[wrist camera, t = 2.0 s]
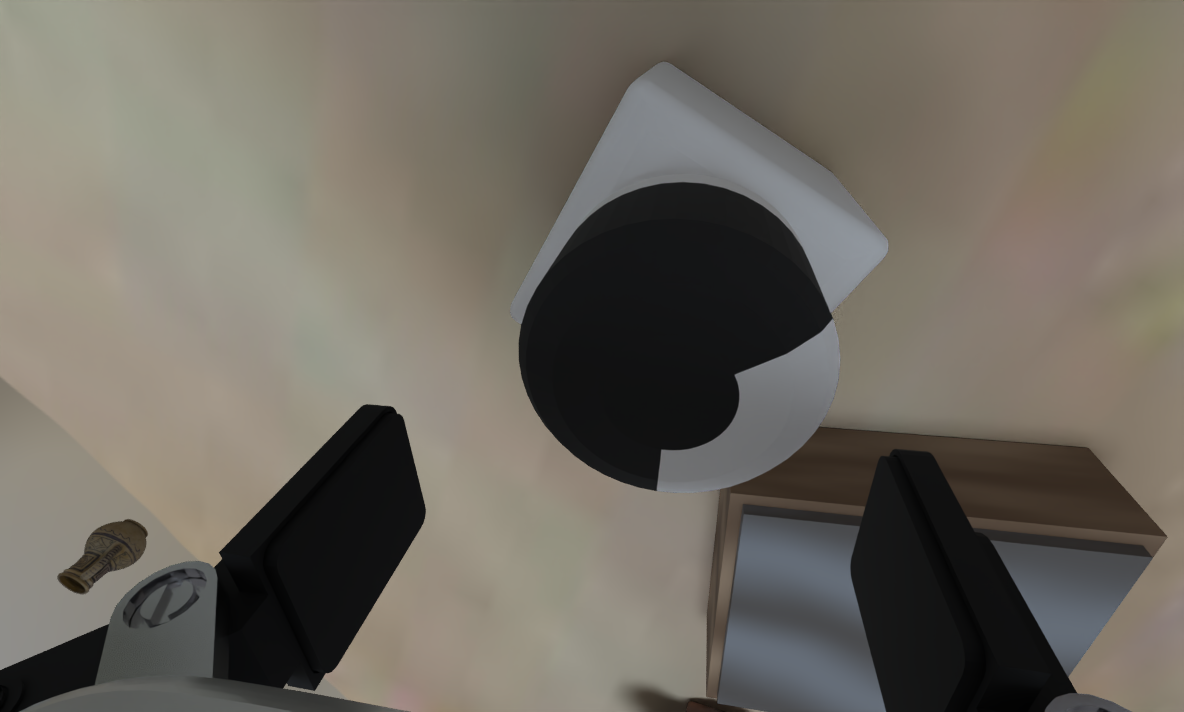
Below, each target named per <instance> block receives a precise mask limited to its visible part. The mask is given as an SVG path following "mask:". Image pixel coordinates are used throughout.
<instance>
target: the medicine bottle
mask: <svg viewBox="0 0 1184 712" xmlns="http://www.w3.org/2000/svg"><path fill="white" fill-rule="evenodd" d="M887 252H888V240H887V239H886V237H885V236H884V235H883V234H882V232H881V231H880V230H879V229H878V227H877V226H876V225H875V224H874V223H873V221H872V220H871V219H870V218H869V216H868V215H867V214H866V213H865V212H864V210H863V209H862V208H861V207H860V206H859V204H858V203H857V202H856V201H855V199H854V198H853V197H852V196H851V195H850V193H849V192H848V191H847V190H846V188H845V187H844V186H843V185H842V184H841V182H840V181H839V180H838V179H837V177H836V176H835V175H834V174H833V173H832V172H831V171H829V170H828V169H827V168H825V167H824V166H822V165H821V164H819V163H818V162H816V161H815V160H813V159H812V158H810V157H809V156H807V155H806V154H804V153H803V152H801V151H800V150H798V149H797V148H795V147H794V146H792V145H791V144H789V143H788V142H786V141H785V140H783V139H782V138H780V137H779V136H777V135H776V134H774V133H773V132H772V131H770V130H769V129H767V128H766V127H764V126H763V125H761V124H760V123H758V122H757V121H755V120H754V119H752V118H751V117H749V116H748V115H746V114H745V113H743V112H742V111H740V110H739V109H737V108H736V107H734V106H733V105H731V104H730V103H728V102H727V101H725V100H724V99H722V98H721V97H720V96H718V95H717V94H715V93H714V92H712V91H711V90H709V89H708V88H706V87H705V86H703V85H702V84H700V83H699V82H697V81H696V80H694V79H693V78H691V77H690V76H688V75H687V74H685V73H684V72H682V71H681V70H679V69H678V68H676V67H675V66H673V65H672V64H670V63H668V62H661V63H658V64H656V65H655V66H654V67H652V68H651V69H650V70H648V71H647V72H645V73H644V74H643V75H641V76H640V77H639V78H637V79H636V80H635V81H634V82H633V83H632V84H631V85H630V86H629V87H628V89H627V91H626V93H625V94H624V96H623V98H622V100H621V102H620V104H619V105H618V107H617V109H616V111H615V113H614V115H613V117H612V118H611V120H610V122H609V124H608V126H607V128H606V130H605V131H604V133H603V135H602V137H601V139H600V141H599V142H598V144H597V146H596V148H595V150H594V152H593V154H592V155H591V157H590V159H589V161H588V163H587V165H586V166H585V168H584V170H583V172H582V174H581V176H580V178H579V179H578V181H577V183H576V185H575V187H574V189H573V191H572V192H571V194H570V196H569V198H568V200H567V202H566V203H565V205H564V207H563V209H562V211H561V213H560V215H559V216H558V218H557V220H556V222H555V224H554V226H553V228H552V229H551V231H550V233H549V235H548V237H547V239H546V240H545V242H544V244H543V246H542V248H541V250H540V252H539V253H538V255H537V257H536V259H535V261H534V263H533V265H532V266H531V268H530V270H529V272H528V274H527V276H526V277H525V279H524V281H523V283H522V285H521V287H520V289H519V290H518V292H517V294H516V296H515V298H514V300H513V301H512V303H511V308H510V313H511V316H512V318H513V319H514V320H515V321H516V322H518V323H520V324H521V330H520V337H519V364H520V369H521V375H522V380H523V383H524V386H525V389H526V392H527V395H528V397H529V399H530V401H531V403H532V405H533V407H534V409H535V411H536V413H537V414H538V416H539V417H540V419H541V420H542V422H543V423H544V425H545V426H546V427H547V428H548V429H549V431H550V432H551V433H552V434H553V435H554V436H555V438H556V439H557V440H558V441H559V442H560V443H561V444H562V445H563V446H564V447H566V448H567V449H568V450H569V451H570V452H571V453H572V454H573V455H574V456H576V457H577V458H579V459H580V460H581V461H583V462H584V463H586V464H587V465H588V466H590V467H592V468H593V469H595V470H597V471H599V472H601V473H602V474H604V475H606V476H609V477H611V478H613V479H616V480H618V481H620V482H623V483H626V484H630V485H633V486H636V487H640V488H645V489H649V490H654V491H662V492H672V493H696V492H705V491H713V490H718V489H722V488H727V487H731V486H734V485H737V484H740V483H743V482H746V481H749V480H751V479H753V478H755V477H757V476H759V475H761V474H763V473H765V472H767V471H769V470H771V469H772V468H774V467H775V466H777V465H779V464H780V463H782V462H783V461H785V460H787V459H788V458H789V457H790V456H791V455H793V454H794V453H795V452H796V451H797V450H799V449H800V448H801V447H802V446H803V445H804V444H805V443H806V442H807V441H808V439H809V438H810V437H811V436H812V435H813V434H814V433H815V431H816V430H817V428H818V427H819V425H820V424H821V422H822V421H823V419H824V418H825V416H826V414H827V412H828V410H829V408H830V405H831V403H832V401H833V399H834V395H835V391H836V388H837V384H838V380H839V370H840V350H839V339H838V335H837V332H836V328H835V324H834V321H833V317H832V315H831V313H832V312H833V310H834V309H835V308H836V307H837V306H838V305H839V304H840V303H841V302H842V301H843V300H844V299H845V298H846V297H847V296H848V295H849V294H850V293H851V292H852V291H853V290H854V289H855V288H856V287H857V286H858V284H859V283H860V282H861V281H862V280H863V279H864V278H865V277H866V276H867V275H868V274H869V273H870V272H871V271H872V270H873V269H874V268H875V267H876V266H877V265H878V264H879V263H880V262H881V261H882V259H883V258H884V257H885V256H886V254H887Z"/></svg>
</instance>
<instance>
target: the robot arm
mask: <svg viewBox="0 0 1184 712" xmlns="http://www.w3.org/2000/svg"><path fill="white" fill-rule="evenodd" d="M425 514H426V509H425V504H424V500H423V496H422V492H421V488H420V483H419V479H418V475H417V471H416V467H415V463H414V459H413V455H412V451H411V447H410V443H409V439H408V435H407V431H406V427H405V423H404V419H403V417H402V416H401V415H400V414H397V412H396V410H395V409H394V408H393V407H391V406H380V405H368V404H367V405H363V406H362V407H361V408H359V409H358V410H357V412H356V413H355V414H354V415H353V416H352V417H351V418H350V419H349V420H348V421H347V422H346V423H345V424H344V425H343V426H342V427H341V428H340V429H339V430H338V431H337V432H336V433H335V434H334V435H333V436H332V437H331V438H330V439H329V440H328V441H327V442H326V443H325V444H324V445H323V446H322V447H321V448H320V449H319V450H318V452H317V453H316V454H315V455H314V456H313V457H312V458H311V459H310V460H309V461H308V462H307V463H306V464H305V465H304V466H303V467H302V468H301V469H300V470H299V471H298V472H297V473H296V474H295V475H294V476H293V477H292V478H291V479H290V480H289V481H288V482H287V483H286V484H285V485H284V486H283V487H282V488H281V489H280V490H279V492H278V493H277V494H276V495H275V496H274V497H273V498H272V499H271V500H270V501H269V502H268V503H267V504H266V505H265V506H264V507H263V508H262V509H261V510H260V511H259V512H258V513H257V514H256V515H255V516H254V517H253V518H252V519H251V520H250V521H249V522H248V523H247V524H246V525H245V526H244V527H243V528H242V529H241V530H240V532H239V533H238V534H237V535H236V536H235V537H234V538H233V539H232V540H231V541H230V542H229V543H228V544H227V545H226V546H225V547H224V548H223V549H222V550H221V551H220V552H219V553H220V555H221V557H222V560H221V561H220V562H219V563H218V564H217V565H216V566H215V567H212V566H211V565H210V564H209V563H205V562H201V561H189V562H183V563H179V564H175V565H171V566H169V567H166V568H164V569H162V570H160V571H157V572H155V573H153V574H152V575H150V576H149V577H147V578H146V579H144V580H142V581H141V582H139V583H138V584H137V585H136V586H134V587H133V588H132V589H131V590H130V591H129V592H127V593H126V594H125V596H124V597H123V598H122V599H121V600H120V602H119V603H118V604H117V605H116V607H115V609H114V612H113V614H112V616H111V619H110V623H109V624H108V625H105V626H103V627H101V628H98V629H96V630H94V631H91V632H89V633H87V634H84V635H82V636H79V637H77V638H75V639H72V640H70V641H68V642H65V643H63V644H61V645H58V646H56V647H54V648H51V649H49V650H47V651H44V652H42V653H40V654H37V655H35V656H33V657H30V658H28V659H25V660H23V661H21V662H18V663H16V664H14V665H12V666H9V667H7V668H4V669H2V670H0V712H409V711H404V710H398V709H393V708H387V707H382V706H377V705H371V704H366V703H361V702H355V701H350V700H344V699H339V698H334V697H328V696H323V695H318V694H312V693H307V692H301V691H295V690H288V689H283V688H284V686H285V684H286V683H287V684H288V686H292V687H297V688H303V689H308V690H313V691H315V690H316V688H317V686H318V685H319V683H320V682H321V680H322V678H323V677H324V675H325V673H330V672H332V671H333V670H334V669H335V668H336V666H337V665H338V664H339V662H340V660H341V659H342V657H343V655H344V654H345V652H346V650H347V649H348V647H349V645H350V644H351V642H352V641H353V639H354V637H355V636H356V634H357V632H358V631H359V629H360V627H361V626H362V624H363V622H364V621H365V619H366V617H367V616H368V614H369V612H370V611H371V609H372V608H373V606H374V604H375V603H376V601H377V599H378V598H379V596H380V594H381V593H382V591H383V589H384V588H385V586H386V584H387V583H388V581H389V579H390V578H391V576H392V574H393V573H394V571H395V570H396V568H397V566H398V565H399V563H400V561H401V560H402V558H403V556H404V555H405V553H406V551H407V550H408V548H409V546H410V545H411V543H412V541H413V540H414V538H415V537H416V535H417V533H418V532H419V530H420V528H421V527H422V525H423V522H424V519H425ZM850 572H851V579H852V583H853V587H854V591H855V595H856V599H857V602H858V606H859V610H860V614H861V618H862V621H863V625H864V629H865V633H866V637H867V641H868V644H869V648H870V652H871V656H872V660H873V664H874V667H875V671H876V675H877V679H878V683H879V687H880V690H881V694H882V698H883V702H884V706H885V710H886V712H1131V711H1129V710H1127V709H1125V708H1123V707H1121V706H1120V705H1118V704H1116V703H1114V702H1112V701H1109V700H1105V699H1102V698H1099V697H1096V696H1093V695H1089V694H1077V692H1076V690H1075V689H1074V687H1073V685H1072V683H1071V681H1070V680H1069V678H1068V676H1067V674H1066V673H1065V671H1064V669H1063V667H1062V665H1061V664H1060V662H1059V660H1058V658H1057V657H1056V655H1055V653H1054V651H1053V650H1052V648H1051V646H1050V644H1049V642H1048V641H1047V639H1046V637H1045V635H1044V634H1043V632H1042V630H1041V628H1040V626H1039V625H1038V623H1037V621H1036V619H1035V618H1034V616H1033V614H1032V612H1031V611H1030V609H1029V607H1028V605H1027V603H1026V602H1025V600H1024V598H1023V596H1022V595H1021V593H1020V591H1019V589H1018V587H1017V586H1016V584H1015V582H1014V580H1013V579H1012V577H1011V575H1010V573H1009V572H1008V570H1007V568H1006V566H1005V564H1004V563H1003V561H1002V559H1001V557H1000V556H999V554H998V552H997V550H996V549H995V547H994V545H993V544H992V542H991V541H990V540H989V538H988V537H987V536H985V535H984V534H982V533H979V532H974V530H973V528H972V526H971V524H970V522H969V520H968V519H967V517H966V515H965V513H964V511H963V509H962V508H961V506H960V504H959V502H958V500H957V498H956V496H955V495H954V493H953V491H952V489H951V487H950V485H949V483H948V482H947V480H946V478H945V476H944V474H943V472H942V471H941V469H940V467H939V465H938V463H937V461H936V459H935V458H934V456H933V455H932V453H930V452H927V451H916V450H904V449H894V450H892V451H891V453H890V455H889V456H881V457H880V458H879V460H878V463H877V467H876V470H875V474H874V478H873V481H872V485H871V488H870V492H869V496H868V499H867V503H866V506H865V510H864V514H863V517H862V521H861V525H860V528H859V532H858V535H857V539H856V543H855V546H854V550H853V553H852V557H851V564H850Z"/></svg>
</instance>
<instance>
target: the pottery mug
mask: <svg viewBox="0 0 1184 712" xmlns="http://www.w3.org/2000/svg"><path fill="white" fill-rule="evenodd" d="M686 712H723V711H721V710H717V709H714V708H712V707H709V706H706V705H703V704H699V703H696V702H693V701H690V702H689V703H688V705H687V710H686Z"/></svg>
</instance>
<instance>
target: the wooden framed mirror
mask: <svg viewBox="0 0 1184 712" xmlns="http://www.w3.org/2000/svg"><path fill="white" fill-rule="evenodd" d="M894 449H904V450H916V451H927V452H930V453H932V455H933V456H934V458H935V459H936V461H937V463H938V465H939V467H940V469H941V471H942V472H943V474H944V476H945V478H946V480H947V482H948V483H949V485H950V487H951V489H952V491H953V493H954V495H955V496H956V498H957V500H958V502H959V504H960V506H961V508H962V509H963V511H964V513H965V515H966V517H967V519H968V520H969V522H970V524H971V526H972V528H973V530H974V532H979V533H982V534H984V535H985V536H987V537H988V538H989V540H990V541H991V542H992V544H993V545H994V547H995V549H996V550H997V552H998V554H999V556H1000V557H1001V559H1002V561H1003V563H1004V564H1005V566H1006V568H1007V570H1008V572H1009V573H1010V575H1011V577H1012V579H1013V580H1014V582H1015V584H1016V586H1017V587H1018V589H1019V591H1020V593H1021V595H1022V596H1023V598H1024V600H1025V602H1026V603H1027V605H1028V607H1029V609H1030V611H1031V612H1032V614H1033V616H1034V618H1035V619H1036V621H1037V623H1038V625H1039V626H1040V628H1041V630H1042V632H1043V634H1044V635H1045V637H1046V639H1047V641H1048V642H1049V644H1050V646H1051V648H1052V650H1053V651H1054V653H1055V655H1056V657H1057V658H1058V660H1059V662H1060V664H1061V665H1062V667H1063V669H1064V671H1065V673H1066V674H1067V676H1068V677H1069V675H1070V674H1071V672H1072V671H1073V669H1074V668H1075V667H1076V665H1077V664H1078V662H1079V661H1080V660H1081V658H1082V657H1083V655H1084V654H1085V653H1086V651H1087V650H1088V648H1089V647H1090V646H1091V644H1092V643H1093V641H1094V640H1095V639H1096V637H1097V636H1098V634H1099V633H1100V632H1101V630H1102V629H1103V627H1104V626H1105V625H1106V623H1107V622H1108V620H1109V619H1110V617H1111V616H1112V615H1113V613H1114V612H1115V610H1116V609H1117V608H1118V606H1119V605H1120V603H1121V602H1122V601H1123V599H1124V598H1125V596H1126V595H1127V594H1128V592H1129V591H1130V589H1131V588H1132V587H1133V585H1134V584H1135V582H1136V581H1137V580H1138V578H1139V577H1140V575H1141V574H1142V573H1143V571H1144V570H1145V568H1146V567H1147V565H1148V564H1149V563H1150V561H1151V560H1152V558H1153V557H1154V556H1155V554H1156V553H1157V551H1158V550H1159V548H1160V547H1161V546H1162V544H1163V543H1164V541H1165V540H1166V539H1167V536H1166V534H1165V533H1164V532H1163V531H1162V530H1161V529H1160V528H1159V527H1158V525H1157V524H1156V523H1155V522H1154V521H1153V520H1152V519H1151V518H1150V516H1149V515H1148V514H1147V513H1146V512H1145V511H1144V510H1143V509H1142V508H1141V506H1140V505H1139V504H1138V503H1137V502H1136V501H1135V500H1134V499H1133V497H1132V496H1131V495H1130V494H1129V493H1128V492H1127V491H1126V490H1125V488H1124V487H1123V486H1122V485H1121V484H1120V483H1119V482H1118V481H1117V479H1116V478H1115V477H1114V476H1113V475H1112V474H1111V473H1110V472H1109V470H1108V469H1107V468H1106V467H1105V466H1104V465H1103V464H1102V463H1101V462H1100V460H1099V459H1098V458H1097V457H1096V456H1095V455H1094V454H1093V453H1092V451H1091V450H1090V449H1089V448H1080V447H1067V446H1054V445H1041V444H1028V443H1015V442H1002V441H989V440H976V439H963V438H950V437H937V436H925V435H912V434H899V433H886V432H873V431H860V430H847V429H834V428H821V427H818V428H817V430H816V431H815V433H814V434H813V435H812V436H811V437H810V438H809V439H808V441H807V442H806V443H805V444H804V445H803V446H802V447H801V448H800V449H799V450H797V451H796V452H795V453H794V454H793V455H791V456H790V457H789V458H788V459H787V460H785V461H783V462H782V463H780V464H779V465H777V466H775V467H774V468H772V469H771V470H769V471H767V472H765V473H763V474H761V475H759V476H757V477H755V478H753V479H751V480H749V481H746V482H743V483H740V484H737V485H734V486H731V487H727V488H722V489H720V496H719V506H718V515H717V525H716V534H715V544H714V553H713V563H712V572H711V582H710V591H709V600H708V610H707V666H706V697H711V698H717V703H718V704H724V705H730V706H736V707H742V708H748V709H754V710H760V711H766V712H886V710H885V706H884V702H883V698H882V694H881V690H880V687H879V683H878V679H877V675H876V671H875V667H874V664H873V660H872V656H871V652H870V648H869V644H868V641H867V637H866V633H865V629H864V625H863V621H862V618H861V614H860V610H859V606H858V602H857V599H856V595H855V591H854V587H853V583H852V579H851V572H850V564H851V557H852V553H853V550H854V546H855V543H856V539H857V535H858V532H859V528H860V525H861V521H862V517H863V514H864V510H865V506H866V503H867V499H868V496H869V492H870V488H871V485H872V481H873V478H874V474H875V470H876V467H877V463H878V460H879V458H880V457H881V456H889V455H890V453H891V451H892V450H894Z"/></svg>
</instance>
